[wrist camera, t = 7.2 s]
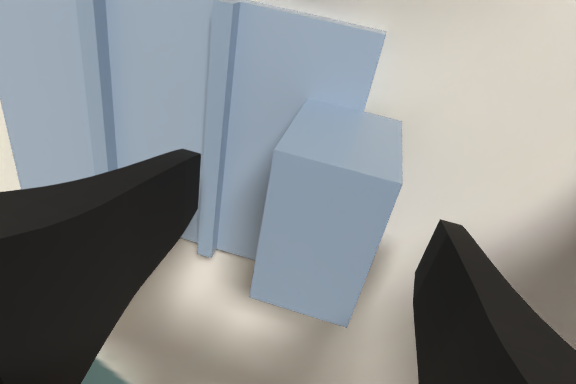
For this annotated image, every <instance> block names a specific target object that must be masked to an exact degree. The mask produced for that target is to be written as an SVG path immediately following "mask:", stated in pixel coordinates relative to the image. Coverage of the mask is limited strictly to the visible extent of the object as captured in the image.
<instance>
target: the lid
mask: <svg viewBox="0 0 576 384" xmlns="http://www.w3.org/2000/svg"><path fill="white" fill-rule="evenodd" d="M385 36H386V31H382V30H378V29H373V28H369V27H364V26H360V25H356V24H351V23H347V22H342V21H338V20H334V19H329V18H325V17H320V16H316V15H311V14H307V13H303V12H298V11H294V10H289V9H285V8H280V7H276V6H272V5H267V4H263V3H258V2H254V1H250V0H0V100H1V105H2V109H3V113H4V118H5V122H6V126H7V131H8V135H9V139H10V143H11V148H12V152H13V156H14V161H15V165H16V169H17V174H18V178H19V182H20V187H21V189H29V188H36V187H43V186H49V185H55V184H60V183H65V182H70V181H75V180H79V179H83V178H87V177H91V176H95V175H98V174H102V173H105V172H109V171H112V170H115V169H119V168H122V167H126V166H129V165H132V164H135V163H138V162H141V161H144V160H147V159H150V158H153V157H156V156H159V155H162V154H165V153H168V152H171V151H174V150H178V149H186V150H190V151H193V152H197V153H201V165H200V183H199V200H198V209H197V211H196V213H195V215H194V216H193V218H192V220H191V222H190V223H189V225H188V227H187V228H186V230H185V232H184V233H183V235H182V236H181V237H180V238H183V239H186V240H189V241H192V242H196V243H198V251H197V254H200V255H203V256H207V257H210V258H211V257H212V256H213V254H214V252H215V251H216V249H219V250H222V251H226V252H229V253H232V254H236V255H239V256H242V257H246V258H249V259H252V260H255V266H254V272H253V278H252V284H251V290H250V296H249V297H250V298H253V299H256V300H260V301H263V302H266V303H269V304H272V305H276V306H279V307H282V308H285V309H288V310H292V311H295V312H298V313H301V314H304V315H308V316H311V317H314V318H317V319H320V320H324V321H327V322H330V323H333V324H336V325H340V326H343V327H346V328H347V326H348V324H349V321H350V319H351V316H352V313H353V311H354V308H355V306H356V303H357V300H358V298H359V295H360V293H361V290H362V287H363V285H364V282H365V280H366V277H367V275H368V272H369V269H370V267H371V264H372V262H373V259H374V256H375V254H376V251H377V249H378V246H379V243H380V241H381V238H382V236H383V233H384V230H385V228H386V225H387V223H388V220H389V217H390V215H391V212H392V210H393V207H394V204H395V202H396V199H397V197H398V194H399V192H400V189H401V186H402V121H399V120H395V119H391V118H387V117H383V116H379V115H375V114H371V113H367V112H364V109H365V105H366V102H367V98H368V95H369V91H370V88H371V84H372V81H373V77H374V74H375V70H376V67H377V64H378V60H379V57H380V53H381V50H382V46H383V43H384V39H385Z"/></svg>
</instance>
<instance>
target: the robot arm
mask: <svg viewBox="0 0 576 384" xmlns="http://www.w3.org/2000/svg"><path fill="white" fill-rule="evenodd" d="M200 165H201V153H197V152H193V151H190V150H186V149H178V150H174V151H171V152H168V153H165V154H162V155H159V156H156V157H153V158H150V159H147V160H144V161H141V162H138V163H135V164H132V165H129V166H126V167H122V168H119V169H115V170H112V171H109V172H105V173H102V174H98V175H95V176H91V177H87V178H83V179H79V180H75V181H70V182H65V183H60V184H55V185H49V186H43V187H36V188H29V189H21V190H14V191H6V192H0V384H81V382H82V380H83V379H84V377H85V375H86V374H87V372H88V370H89V368H90V367H91V365H92V363H93V361H94V360H95V358H96V356H97V354H98V353H99V351H100V349H101V348H102V346H103V344H104V343H105V341H106V339H107V338H108V336H109V334H110V333H111V331H112V330H113V328H114V326H115V325H116V323H117V321H118V320H119V318H120V317H121V315H122V314H123V312H124V311H125V309H126V307H127V306H128V304H129V303H130V301H131V300H132V298H133V297H134V295H135V294H136V293H137V291H138V290H139V288H140V287H141V286H142V284H143V283H144V282H145V281H146V280H147V278H148V277H149V276H150V275H151V273H152V272H153V271H154V270H155V268H156V267H157V266H158V265H159V263H160V262H161V261H162V260H163V259H164V257H165V256H166V255H167V254H168V252H169V251H170V250H171V249H172V247H173V246H174V245H175V244H176V242H177V241H178V240H179V239H180V237H181V236H182V235H183V233H184V232H185V230H186V228H187V227H188V225H189V223H190V222H191V220H192V218H193V216H194V215H195V213H196V211H197V209H198V200H199V183H200ZM413 309H414V324H415V337H416V350H417V363H418V380H419V384H576V350H574V349H573V348H572V347H571V346H570V345H569V344H568V343H567V342H565V341H564V340H563V339H562V338H561V337H560V336H559V335H558V334H557V333H556V332H555V331H554V330H553V329H552V328H551V327H550V326H549V325H548V324H546V323H545V322H544V321H543V320H542V319H541V318H540V317H539V316H538V315H537V314H536V313H535V312H534V311H533V310H532V309H531V307H530V306H529V305H528V304H527V303H526V302H525V301H524V300H523V299H522V298H521V296H520V295H519V294H518V293H517V292H516V291H515V290H514V289H513V288H512V286H511V285H510V284H509V283H508V282H507V281H506V279H505V278H504V277H503V276H502V275H501V273H500V272H499V271H498V270H497V268H496V267H495V266H494V265H493V263H492V262H491V261H490V260H489V258H488V257H487V256H486V255H485V253H484V252H483V251H482V249H481V248H480V247H479V245H478V244H477V243H476V242H475V240H474V239H473V238H472V237H471V235H470V234H469V233H468V232H467V230H466V229H465V228H464V227H463V226H462V225H459V224H455V223H451V222H448V221H444V220H441V219H440V221H439V223H438V225H437V227H436V229H435V231H434V233H433V236H432V238H431V240H430V242H429V244H428V246H427V248H426V250H425V252H424V255H423V257H422V259H421V261H420V263H419V265H418V267H417V269H416V272H415V281H414V295H413Z"/></svg>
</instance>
